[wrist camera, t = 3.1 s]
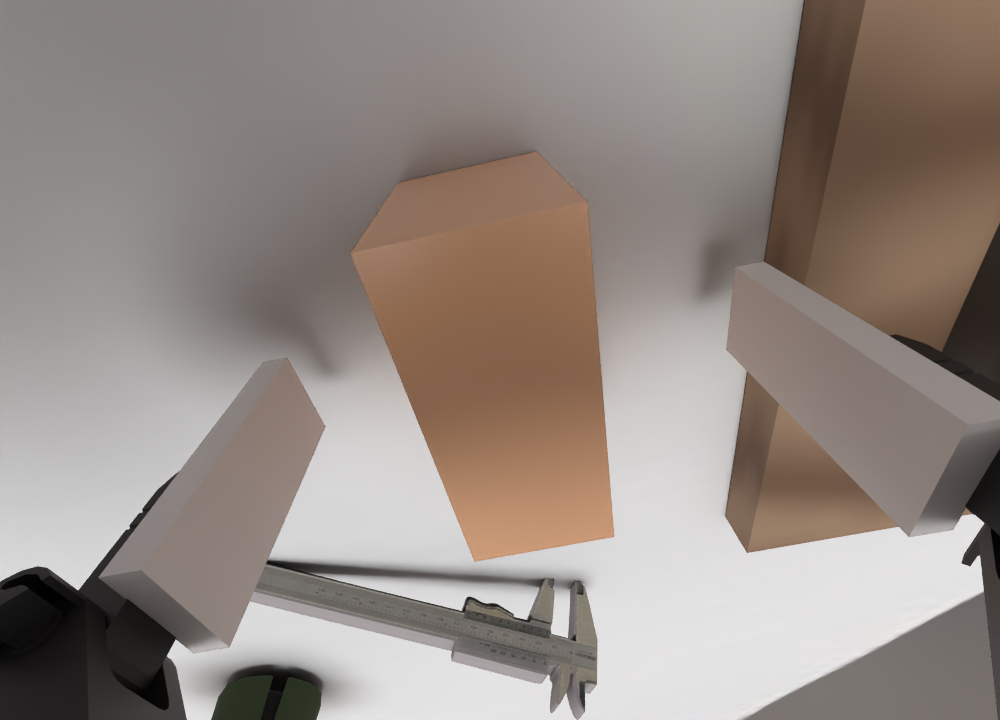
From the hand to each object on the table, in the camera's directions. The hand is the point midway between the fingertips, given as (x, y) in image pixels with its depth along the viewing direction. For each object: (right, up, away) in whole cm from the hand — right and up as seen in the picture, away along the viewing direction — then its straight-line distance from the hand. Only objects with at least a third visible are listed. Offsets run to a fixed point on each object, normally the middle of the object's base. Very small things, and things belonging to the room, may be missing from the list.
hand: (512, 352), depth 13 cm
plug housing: (0, +1, +2) cm, 2 cm away
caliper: (-6, -11, +10) cm, 16 cm away
